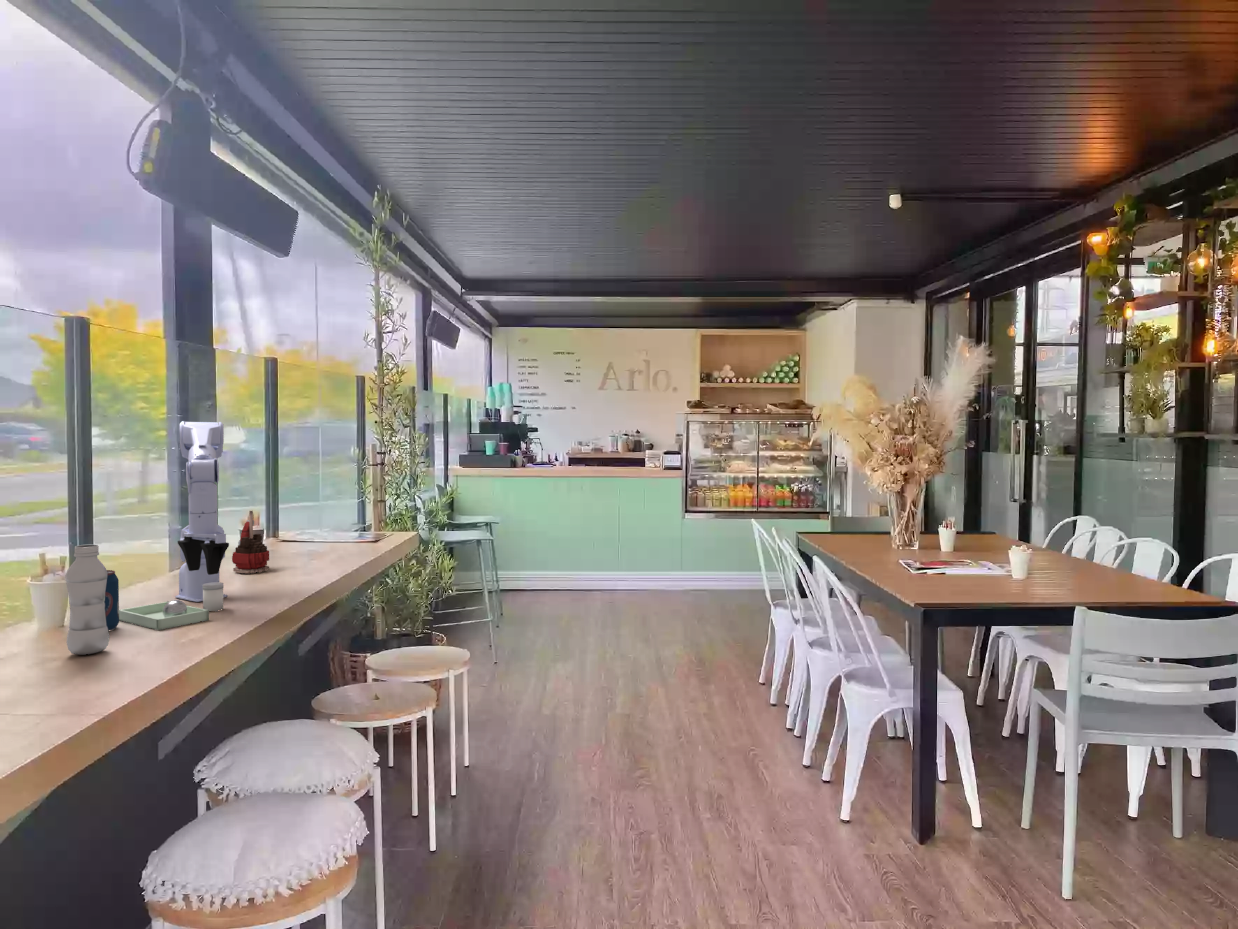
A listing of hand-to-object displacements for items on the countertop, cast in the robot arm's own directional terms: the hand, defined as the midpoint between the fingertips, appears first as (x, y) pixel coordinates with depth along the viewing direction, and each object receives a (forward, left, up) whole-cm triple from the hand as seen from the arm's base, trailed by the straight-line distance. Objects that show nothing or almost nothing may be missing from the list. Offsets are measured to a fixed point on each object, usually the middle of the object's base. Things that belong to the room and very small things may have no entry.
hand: (203, 572), depth 182 cm
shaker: (-1, +3, -9) cm, 10 cm away
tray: (0, -9, -9) cm, 13 cm away
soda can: (-2, -21, -10) cm, 23 cm away
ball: (+4, -9, -7) cm, 12 cm away
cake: (-39, +38, -10) cm, 55 cm away
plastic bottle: (+15, -31, -10) cm, 36 cm away
